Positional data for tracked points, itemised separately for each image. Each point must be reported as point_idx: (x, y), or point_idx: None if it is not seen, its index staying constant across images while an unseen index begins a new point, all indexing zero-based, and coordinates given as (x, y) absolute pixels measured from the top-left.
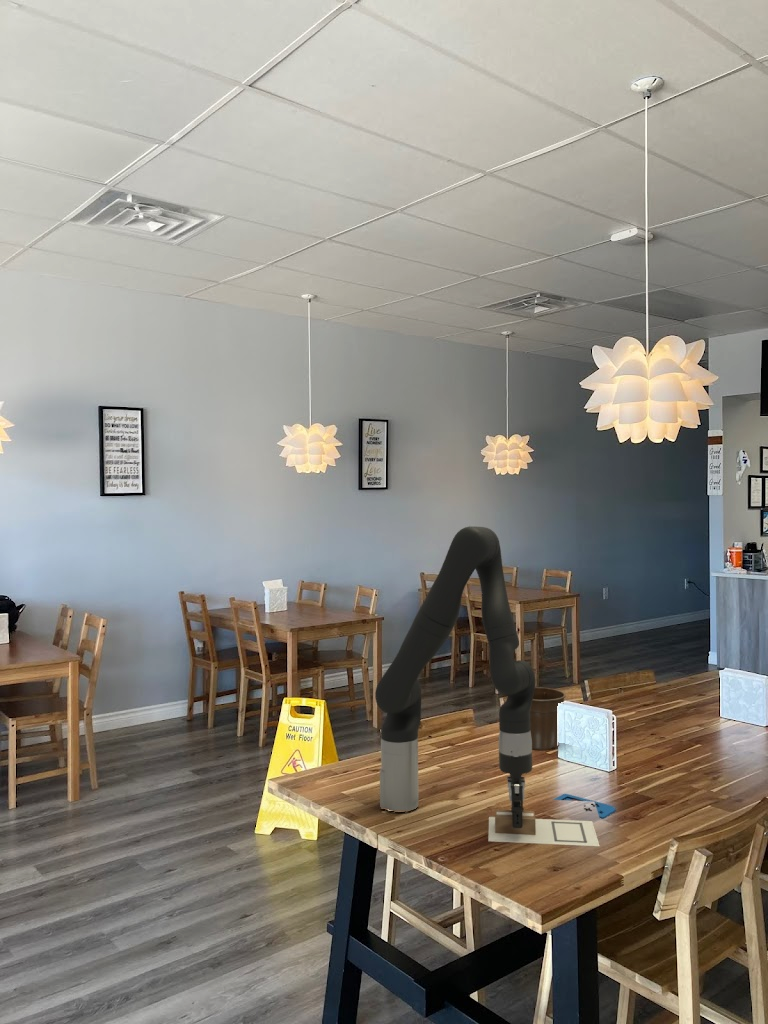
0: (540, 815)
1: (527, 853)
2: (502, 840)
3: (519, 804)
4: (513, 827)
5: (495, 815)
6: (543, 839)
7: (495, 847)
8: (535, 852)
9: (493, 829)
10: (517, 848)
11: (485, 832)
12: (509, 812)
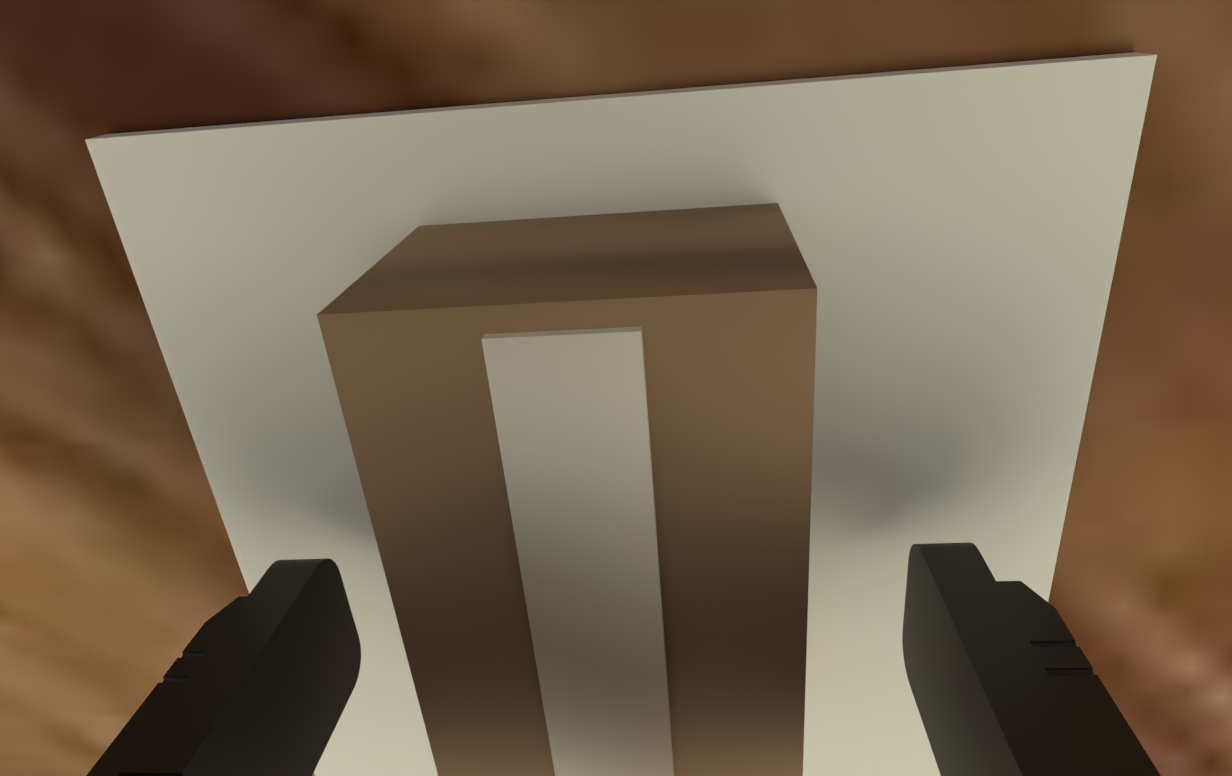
0: (1205, 735)
1: (64, 590)
2: (196, 342)
3: (950, 772)
4: (289, 560)
5: (453, 314)
6: (407, 749)
7: (32, 245)
8: (128, 655)
9: (556, 188)
10: (138, 499)
11: (507, 44)
12: (647, 573)
